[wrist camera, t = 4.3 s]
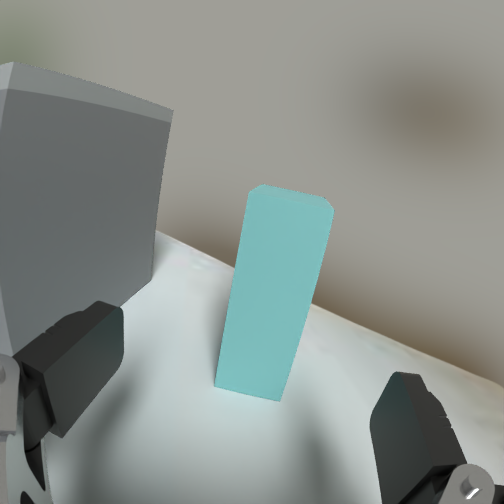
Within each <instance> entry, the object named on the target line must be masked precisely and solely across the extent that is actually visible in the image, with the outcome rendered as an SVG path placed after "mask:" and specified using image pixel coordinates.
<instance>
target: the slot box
mask: <svg viewBox="0 0 504 504" xmlns="http://www.w3.org/2000/svg"><path fill="white" fill-rule="evenodd" d="M172 116H173V110H171V109H168V108H166V107H163V106H160V105H158V104H155V103H152V102H149V101H147V100H144V99H141V98H138V97H136V96H133V95H130V94H127V93H124V92H121V91H118V90H115V89H112V88H109V87H106V86H102V85H99V84H96V83H93V82H90V81H86V80H83V79H80V78H76V77H72V76H69V75H65V74H62V73H58V72H55V71H51V70H47V69H43V68H39V67H35V66H31V65H26V64H22V63H18V62H11V63H7V64H3V65H0V354H5V355H8V356H10V357H12V356H13V355H14V354H16V353H17V352H18V351H20V350H21V349H22V348H23V347H25V346H26V345H27V344H28V343H30V342H31V341H32V340H34V339H35V338H36V337H38V336H39V335H40V334H41V333H45V330H47V329H48V328H49V327H51V326H54V324H55V323H56V322H57V321H59V320H60V319H61V318H63V317H64V316H66V315H69V314H72V313H74V312H77V311H84V310H85V309H86V308H88V307H89V306H90V305H92V304H93V303H94V302H96V301H98V300H99V301H103V302H105V303H108V304H111V305H114V306H117V307H120V306H121V305H122V304H123V303H124V302H126V301H127V300H128V299H129V298H130V297H131V296H133V295H134V294H135V293H136V292H137V291H139V290H140V289H141V288H142V287H143V286H144V285H146V284H147V283H148V282H149V281H150V280H151V272H152V260H153V249H154V239H155V229H156V220H157V212H158V204H159V195H160V188H161V182H162V175H163V168H164V162H165V155H166V149H167V143H168V138H169V132H170V127H171V121H172Z"/></svg>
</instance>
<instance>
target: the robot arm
mask: <svg viewBox="0 0 504 504" xmlns="http://www.w3.org/2000/svg"><path fill="white" fill-rule="evenodd" d="M123 354H124V316H123V310H122V309H121V308H120V307H117V306H114V305H111V304H108V303H105V302H103V301H99V300H98V301H96V302H94V303H93V304H92V305H90V306H89V307H88V308H86V309H85V310H84V311H77V312H74V313H72V314H69V315H66V316H64V317H63V318H61V319H60V320H59V321H57V322H56V323H55V324H54V326H51V327H49V328H48V329H47V330H45V333H41V334H40V335H39V336H38V337H36V338H35V339H34V340H32V341H31V342H30V343H28V344H27V345H26V346H25V347H23V348H22V349H21V350H20V351H18V352H17V353H16V354H14V355H13V356H12V357H10V356H8V355H5V354H0V504H54V503H53V500H52V496H51V491H50V485H49V478H48V470H47V462H46V452H45V442H44V439H43V437H44V436H45V434H46V433H47V432H48V431H50V432H52V433H53V434H55V435H57V436H59V437H60V438H63V437H64V436H65V434H66V433H67V432H68V431H69V429H70V428H71V427H72V425H73V424H74V423H75V422H76V420H77V419H78V418H79V417H80V415H81V414H82V413H83V412H84V410H85V409H86V408H87V407H88V405H89V404H90V403H91V402H92V400H93V399H94V398H95V397H96V396H97V394H98V393H99V392H100V391H101V389H102V388H103V387H104V386H105V384H106V383H107V382H108V381H109V380H110V378H111V377H112V376H113V375H114V373H115V372H116V371H117V370H118V368H119V367H120V365H121V362H122V359H123ZM446 416H447V415H446V413H445V411H444V408H443V406H442V404H441V403H440V402H439V400H438V399H437V398H436V397H435V396H434V395H433V394H432V393H431V392H428V390H427V388H426V386H425V384H424V382H423V380H422V378H421V376H420V375H419V374H412V373H404V372H395V373H393V374H392V376H391V377H390V379H389V381H388V383H387V385H386V387H385V389H384V391H383V393H382V395H381V396H380V398H379V400H378V402H377V404H376V406H375V407H374V409H373V412H372V414H371V418H370V433H371V438H372V443H373V449H374V454H375V460H376V466H377V472H378V478H379V485H380V492H381V498H382V504H504V486H502V485H495V484H494V482H493V480H492V478H491V476H490V475H489V473H487V472H486V471H485V470H484V469H483V468H481V467H479V466H477V465H473V464H467V461H466V459H465V456H464V454H463V452H462V449H461V447H460V444H459V442H458V440H457V437H456V435H455V433H454V430H453V428H451V424H450V421H449V419H448V418H446Z"/></svg>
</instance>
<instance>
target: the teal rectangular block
mask: <svg viewBox="0 0 504 504" xmlns="http://www.w3.org/2000/svg"><path fill="white" fill-rule="evenodd" d="M334 212H335V210H334V209H333V208H332V207H331V205H330V204H329V203H328V201H327V200H326V199H325V198H323V197H319V196H314V195H311V194H306V193H302V192H297V191H292V190H288V189H283V188H279V187H274V186H269V185H264V184H262V185H260V186H258V187H256V188H255V189H253V190H251V191H250V192H249V196H248V201H247V206H246V211H245V217H244V222H243V227H242V233H241V238H240V243H239V249H238V255H237V260H236V265H235V271H234V276H233V282H232V287H231V293H230V298H229V304H228V310H227V315H226V321H225V327H224V332H223V338H222V344H221V350H220V355H219V361H218V367H217V373H216V379H215V385H214V386H215V387H219V388H222V389H226V390H230V391H234V392H239V393H243V394H247V395H252V396H256V397H261V398H266V399H270V400H275V401H280V399H281V396H282V393H283V391H284V388H285V385H286V382H287V379H288V376H289V373H290V369H291V366H292V363H293V360H294V357H295V354H296V351H297V347H298V344H299V341H300V338H301V334H302V331H303V328H304V324H305V321H306V318H307V314H308V311H309V307H310V304H311V300H312V297H313V293H314V290H315V286H316V283H317V279H318V275H319V272H320V268H321V264H322V260H323V256H324V252H325V248H326V245H327V241H328V237H329V233H330V228H331V224H332V220H333V216H334Z"/></svg>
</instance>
